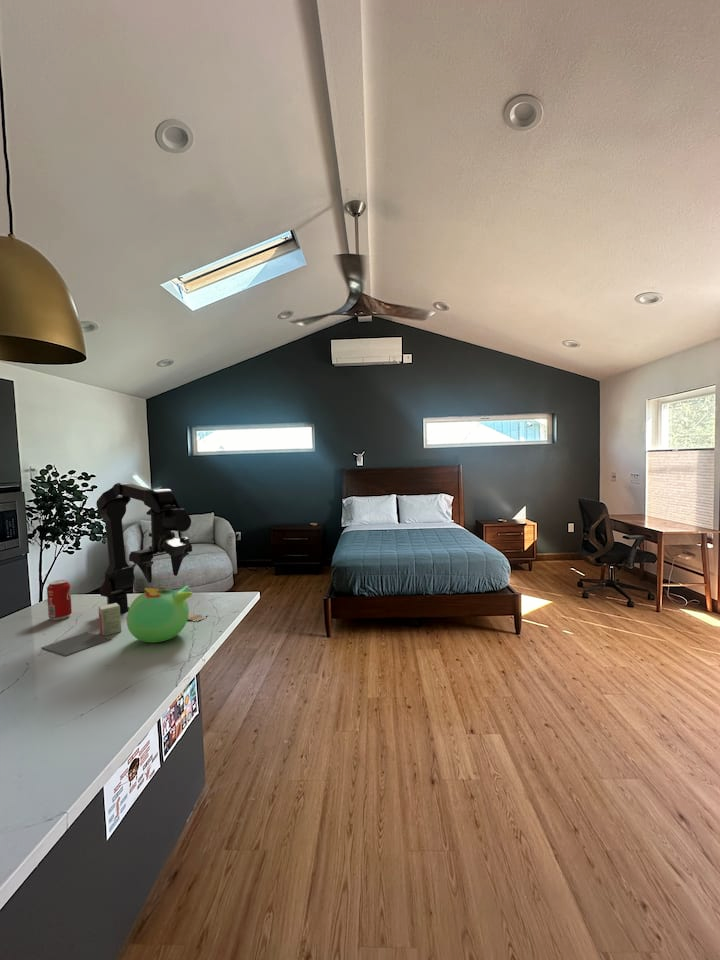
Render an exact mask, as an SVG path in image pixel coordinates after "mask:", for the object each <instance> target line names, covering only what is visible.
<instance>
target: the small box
mask: <svg viewBox="0 0 720 960" xmlns="http://www.w3.org/2000/svg"><path fill="white" fill-rule="evenodd" d="M98 619H99V621H98V622H99V633H100V634H101V635H100V636H104V637H105V636H108V635H111V634H116V633H120V632H122V621H121V619H122V618H121V613H120V606H119V605H118V604H117V603H113V604H109V605H107V604H105V605H100V606H98Z"/></svg>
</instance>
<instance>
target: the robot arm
mask: <svg viewBox="0 0 720 960" xmlns="http://www.w3.org/2000/svg"><path fill="white" fill-rule="evenodd" d="M131 499H135V500H137V501H141V502H143V504H144V506H146V507H148V508H149V509H148V510H147V512H146V515H147V516H150V530H151V531H150V532H148V537H151V545H150V546H148V550H146V549H138V550H133V551H131V552H130V553H129V555H128V562H132V564H136V566H138V568H139V569H140V570H141V572H142V574H143V577H145V579H146V581H147V583H148V584H151V583H152V581H153V577H152V576H153V574H152V573H153V572H152V570H153V569H152V566H153V564H154V563H155V562H154V561H153V558H154V557H159V556H163V555H169V556H170V560H171V566H172V568H171V569H172V574H173V576H175V577H177V576H178V574H179V570H180V568H181V565H182V562H183V559H185V558H186V556H188V555H190V553H191V552H193V545H192V544H191V543H190V539H189V537H187V536H182V537H179V538H176V534H175V532H186V531H188V530H189V529H190V527H191V525H192V519H191V516H190V515H189V514H188V513H186V508H181V507H182V506H181V504H180V503H179V501H178V500H177V498H176V496H175V494H174V493H173V490H171V489H170V488H149V487H145V486H141V485H137V484H133V483H131V482H117V483H115V484H113V486H112V487H111V488H109V489H108V490H106V491H105V492H103V493H102V494H101V495H100V496H99V497H98V499H97V500H96V505H95V506H96V508H97V512H98V515H99V517H100V518H101V519H102V520H103V521H104V524H105V532H106V543H107V553H108V554H107V555H108V562H109V565H108V567H107V569H106V571H105V573H104V581H103V583H102V585H101V586H100V588H99V594H100V596H101V597H105V598H106V603H107V604H106V605H109V604H113V603H117V604H118V605H119V606H120V614H122V613H125V612H128V610H129V608H130V606H129V603H128V593H127V592H133V588H134V583H135V579H136V578H135V568H134V567H133V566H130V565H129V564H128V563H127V558H126V557H127V556H126V549H125V548H126V547H125V538H124V528H123V518H124V517H125V516H126V513H127V505H128V504H129V503H130V502H131Z"/></svg>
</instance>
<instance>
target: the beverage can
mask: <svg viewBox="0 0 720 960" xmlns="http://www.w3.org/2000/svg"><path fill="white" fill-rule="evenodd" d="M48 583H49V584H48V586H47V587H46V593H47V594H46V595H47V597H46V598H47V612H48V618H49V619H51V621H60V619H61V620H65V619H68V618H69V617H70V616H71V615H72V613H73V612H72V595H71V594H72V593H71V584H70V583H69V582H68V580H67V579H57V580H53V581H50V582H48ZM67 617H68V618H67Z"/></svg>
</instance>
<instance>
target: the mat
mask: <svg viewBox="0 0 720 960" xmlns="http://www.w3.org/2000/svg"><path fill="white" fill-rule="evenodd" d="M111 640H112V638H111V637H107V636H105V635H104V636H102V635H99V634H95V633H92V632H88V631H86V632H83V633H80V634H77V635H74V636H72V637H68V638H65V639H62V640H59V641H57V642H56V641H55V642H53V643H50V644H48V645H44V646H41V649H42V650H46V651H47V652H48V651H49V652H51V653H54V652H55V654H58V655H61V656H65V657H67V656H70V655H74V654H76V653H79V652H81V651H85V650H86V649H90V648H93V647H95V646H98V645H100V644H103V643H106V642H109V641H111Z"/></svg>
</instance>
